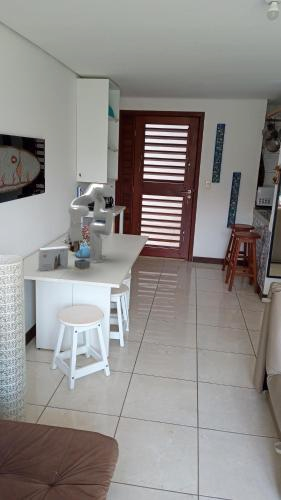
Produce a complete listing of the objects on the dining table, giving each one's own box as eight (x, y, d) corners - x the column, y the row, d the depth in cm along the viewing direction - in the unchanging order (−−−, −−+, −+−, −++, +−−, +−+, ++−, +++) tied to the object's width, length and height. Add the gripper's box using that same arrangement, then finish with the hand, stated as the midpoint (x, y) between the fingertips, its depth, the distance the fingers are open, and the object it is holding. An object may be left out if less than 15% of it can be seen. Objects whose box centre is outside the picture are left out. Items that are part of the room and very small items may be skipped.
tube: (83, 264, 291) (83, 258, 290) (92, 268, 284) (92, 261, 282) (71, 267, 283) (71, 260, 282) (80, 270, 276) (80, 263, 275)
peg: (75, 250, 268) (75, 240, 267) (79, 251, 265) (79, 242, 264) (70, 251, 265) (70, 241, 263) (74, 252, 262) (74, 242, 261)
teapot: (77, 259, 305) (78, 247, 302) (70, 254, 317) (71, 242, 315) (94, 258, 313) (94, 245, 310) (86, 253, 325) (87, 241, 322)
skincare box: (41, 271, 269) (41, 249, 265) (38, 269, 273) (38, 248, 269) (68, 268, 281) (68, 247, 277) (65, 266, 285) (65, 245, 282)
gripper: (82, 222, 269) (81, 247, 274) (62, 225, 257) (61, 251, 262) (88, 224, 264) (87, 250, 269) (68, 227, 252) (68, 253, 257)
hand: (74, 250), depth 265 cm, fingers closed on peg, 4 cm apart
